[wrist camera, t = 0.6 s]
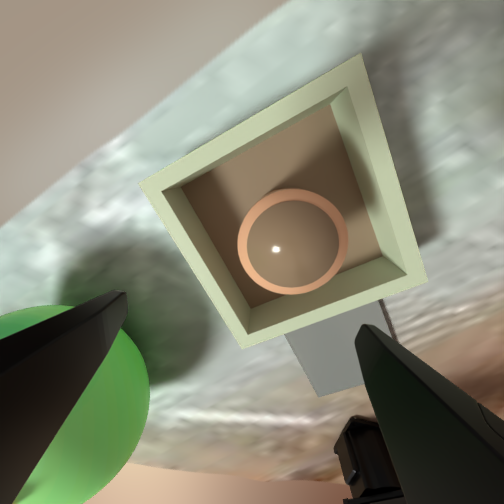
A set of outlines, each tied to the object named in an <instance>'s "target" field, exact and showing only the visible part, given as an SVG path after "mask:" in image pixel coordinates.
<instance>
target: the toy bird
mask: <svg viewBox="0 0 504 504" xmlns="http://www.w3.org/2000/svg"><path fill="white" fill-rule="evenodd" d="M73 307H74V306H65V305H47V306H37V307H31V308H26V309H22V310H18V311H15V312H11V313H8V314H5V315H3V316H0V339H2V338H4V337H7V336H9V335H11V334H14V333H16V332H18V331H21V330H23V329H25V328H27V327H30V326H32V325H34V324H37V323H39V322H41V321H44V320H46V319H48V318H50V317H53V316H55V315H57V314H60V313H62V312H64V311H67V310H69V309H71V308H73ZM149 401H150V386H149V378H148V372H147V369H146V365H145V362H144V360H143V357H142V355H141V353H140V351H139V350H138V348H137V346H136V345H135V344H134V342H133V341H132V340H131V338H130V337H129V336H128V335H127V334H126V333H125V332H124V331H123V330H122V329H121V328H120V330H119V332H118V334H117V336H116V338H115V340H114V342H113V344H112V346H111V348H110V350H109V352H108V354H107V355H106V357H105V359H104V360H103V362H102V364H101V365H100V367H99V368H98V370H97V371H96V373H95V375H94V376H93V378H92V379H91V381H90V382H89V384H88V386H87V387H86V389H85V390H84V392H83V393H82V395H81V397H80V398H79V400H78V401H77V403H76V404H75V406H74V408H73V409H72V411H71V412H70V414H69V415H68V417H67V419H66V420H65V422H64V423H63V425H62V426H61V428H60V430H59V431H58V433H57V434H56V436H55V437H54V439H53V441H52V442H51V444H50V445H49V447H48V448H47V450H46V451H45V453H44V455H43V456H42V458H41V459H40V461H39V462H38V464H37V466H36V467H35V469H34V470H33V472H32V473H31V475H30V477H29V478H28V480H27V481H26V483H25V484H24V486H23V488H22V489H21V491H20V492H19V494H18V495H17V497H16V499H15V500H14V502H13V503H12V504H83V503H84V502H86V501H87V500H89V499H90V498H91V497H93V496H94V495H95V494H97V493H98V492H99V491H100V490H101V489H102V488H104V487H105V486H106V485H107V484H108V483H109V482H110V481H111V480H112V479H113V478H114V477H115V476H116V475H117V473H118V472H119V471H120V470H121V469H122V467H123V466H124V465H125V464H126V462H127V461H128V459H129V458H130V456H131V455H132V453H133V451H134V450H135V448H136V446H137V444H138V442H139V439H140V437H141V435H142V432H143V429H144V426H145V423H146V419H147V415H148V410H149Z"/></svg>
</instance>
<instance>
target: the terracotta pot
mask: <svg viewBox="0 0 504 504" xmlns="http://www.w3.org/2000/svg"><path fill="white" fill-rule="evenodd" d="M237 247H238V254H239V258H240V261H241V263H242V266H243V268H244V269H245V271H246V272H247V274H248V275H249V276H250V277H251V278H252V279H253V280H254V281H255V282H256V283H257V284H259V285H260V286H262V287H263V288H265V289H267V290H270V291H272V292H276V293H280V294H290V295H292V294H301V293H306V292H309V291H312V290H315V289H317V288H319V287H321V286H322V285H324V284H325V283H327V282H328V281H329V280H330V279H331V278H332V277H333V276H334V275H335V274H336V273H337V272H338V270H339V269H340V267H341V266H342V264H343V262H344V260H345V257H346V254H347V249H348V231H347V227H346V223H345V221H344V219H343V217H342V215H341V213H340V212H339V211H338V209H337V208H336V207H335V206H334V205H333V204H332V203H331V202H330V201H328V200H327V199H325V198H324V197H322V196H320V195H318V194H316V193H314V192H311V191H308V190H305V189H299V188H279V189H275V190H272V191H270V192H268V193H267V194H265V195H264V196H263V197H262V198H261V199H260V200H258V201H257V202H256V203H255V204H254V205H253V206H252V207H251V209H250V210H249V211H248V213H247V214H246V216H245V218H244V220H243V222H242V225H241V227H240V230H239V234H238V246H237Z"/></svg>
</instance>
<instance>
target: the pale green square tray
mask: <svg viewBox="0 0 504 504" xmlns="http://www.w3.org/2000/svg"><path fill="white" fill-rule="evenodd" d="M138 184H139V186H140V188H141V189H142V191H143V192H144V194H145V196H146V197H147V199H148V200H149V202H150V203H151V205H152V207H153V208H154V210H155V211H156V213H157V215H158V216H159V218H160V219H161V221H162V223H163V224H164V226H165V227H166V229H167V231H168V232H169V234H170V235H171V237H172V239H173V240H174V242H175V243H176V245H177V246H178V248H179V250H180V251H181V253H182V254H183V256H184V258H185V259H186V261H187V262H188V264H189V266H190V267H191V269H192V270H193V272H194V274H195V275H196V277H197V278H198V280H199V282H200V283H201V285H202V286H203V288H204V290H205V291H206V293H207V294H208V296H209V297H210V299H211V301H212V302H213V304H214V305H215V307H216V309H217V310H218V312H219V313H220V315H221V317H222V318H223V320H224V321H225V323H226V325H227V326H228V328H229V329H230V331H231V333H232V334H233V336H234V337H235V339H236V341H237V342H238V344H239V345H240V347H241V348H242V349H244V348H247V347H250V346H253V345H255V344H258V343H261V342H264V341H266V340H269V339H272V338H275V337H277V336H280V335H283V334H286V333H288V332H291V331H294V330H297V329H299V328H302V327H305V326H308V325H310V324H313V323H316V322H319V321H321V320H324V319H327V318H330V317H333V316H335V315H338V314H341V313H344V312H346V311H349V310H352V309H355V308H357V307H360V306H363V305H366V304H368V303H371V302H374V301H377V300H379V299H382V298H385V297H388V296H390V295H393V294H396V293H399V292H401V291H404V290H407V289H410V288H412V287H415V286H418V285H421V284H423V283H426V282H428V279H427V276H426V273H425V269H424V266H423V262H422V259H421V256H420V252H419V249H418V245H417V242H416V239H415V235H414V232H413V228H412V225H411V222H410V218H409V215H408V211H407V208H406V205H405V201H404V198H403V194H402V191H401V188H400V184H399V181H398V177H397V174H396V170H395V167H394V164H393V160H392V157H391V153H390V150H389V147H388V143H387V140H386V136H385V133H384V130H383V126H382V123H381V119H380V116H379V113H378V109H377V106H376V102H375V99H374V96H373V92H372V89H371V85H370V82H369V79H368V75H367V72H366V68H365V65H364V61H363V58H362V55H361V53H359V54H358V55H356V56H354V57H352V58H351V59H349V60H347V61H346V62H344V63H342V64H341V65H339V66H337V67H335V68H334V69H332V70H330V71H329V72H327V73H325V74H323V75H322V76H320V77H318V78H317V79H315V80H313V81H312V82H310V83H308V84H306V85H305V86H303V87H301V88H300V89H298V90H296V91H295V92H293V93H291V94H289V95H288V96H286V97H284V98H283V99H281V100H279V101H277V102H276V103H274V104H272V105H271V106H269V107H267V108H266V109H264V110H262V111H260V112H259V113H257V114H255V115H254V116H252V117H250V118H249V119H247V120H245V121H243V122H242V123H240V124H238V125H237V126H235V127H233V128H231V129H230V130H228V131H226V132H225V133H223V134H221V135H220V136H218V137H216V138H214V139H213V140H211V141H209V142H208V143H206V144H204V145H203V146H201V147H199V148H197V149H196V150H194V151H192V152H191V153H189V154H187V155H185V156H184V157H182V158H180V159H179V160H177V161H175V162H174V163H172V164H170V165H168V166H167V167H165V168H163V169H162V170H160V171H158V172H157V173H155V174H153V175H151V176H150V177H148V178H146V179H145V180H143V181H141V182H140V183H138ZM279 188H299V189H305V190H308V191H311V192H314V193H316V194H318V195H320V196H322V197H324V198H325V199H327V200H328V201H330V202H331V203H332V204H333V205H334V206H335V207H336V208H337V209H338V211H339V212H340V213H341V215H342V217H343V219H344V221H345V223H346V227H347V231H348V249H347V254H346V257H345V260H344V262H343V264H342V266H341V267H340V269H339V270H338V272H337V273H336V274H335V275H334V276H333V277H332V278H331V279H330V280H329V281H328V282H327V283H325V284H324V285H322V286H321V287H319V288H317V289H315V290H312V291H309V292H306V293H301V294H292V295H290V294H280V293H276V292H272V291H270V290H267V289H265V288H263V287H262V286H260V285H259V284H257V283H256V282H255V281H254V280H253V279H252V278H251V277H250V276H249V275H248V274H247V272H246V271H245V269H244V268H243V266H242V263H241V261H240V258H239V254H238V247H237V246H238V234H239V230H240V227H241V225H242V222H243V220H244V218H245V216H246V214H247V213H248V211H249V210H250V209H251V207H252V206H253V205H254V204H255V203H256V202H257V201H258V200H260V199H261V198H262V197H263V196H264V195H265V194H267V193H268V192H270V191H272V190H275V189H279Z"/></svg>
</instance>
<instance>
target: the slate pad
mask: <svg viewBox="0 0 504 504" xmlns="http://www.w3.org/2000/svg"><path fill="white" fill-rule="evenodd" d="M362 324H371V325H375V326H376V327H377V328H379V329H380V330H382V331H383V332H384V333H386V334H387V335H388V336H390V337H391V338H392V336H391V333H390V331H389V328H388V325H387V323H386V320H385V317H384V315H383V312H382V309H381V307H380V304H379V301H378V300H377V301H374V302H371V303H368V304H366V305H363V306H360V307H357V308H355V309H352V310H349V311H346V312H344V313H341V314H338V315H335V316H333V317H330V318H327V319H324V320H321V321H319V322H316V323H313V324H310V325H308V326H305V327H302V328H299V329H297V330H294V331H291V332H288V333H286V334H284V335H285V337H286V339H287V341H288V342H289V344H290V346H291V348H292V350H293V352H294V353H295V355H296V357H297V359H298V361H299V363H300V364H301V366H302V368H303V370H304V372H305V374H306V375H307V377H308V379H309V381H310V383H311V385H312V386H313V388H314V390H315V392H316V394H317V396H318V397H322V396H325V395H328V394H332V393H335V392H339V391H342V390H345V389H349V388H352V387H356V386H359V385H362V384H364V380H363V377H362V373H361V369H360V365H359V361H358V357H357V353H356V349H355V344H354V341H355V337H356V335H357V333H358V331H359V329H360V327H361V325H362Z"/></svg>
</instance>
